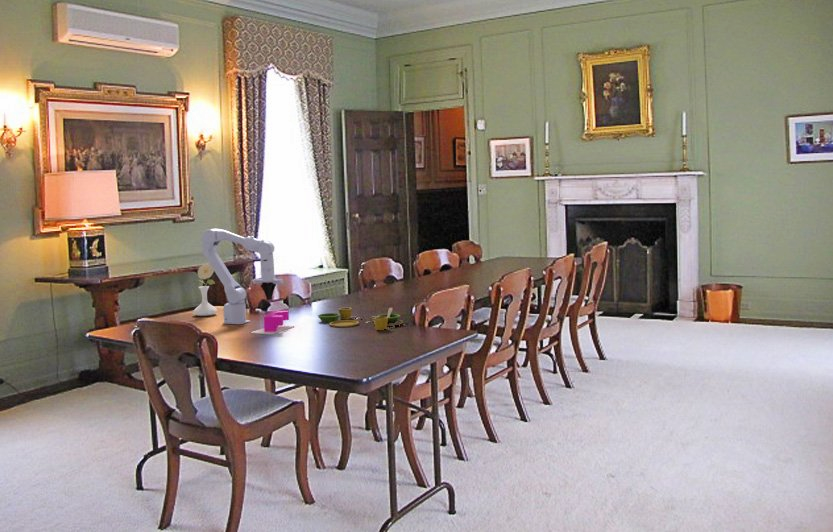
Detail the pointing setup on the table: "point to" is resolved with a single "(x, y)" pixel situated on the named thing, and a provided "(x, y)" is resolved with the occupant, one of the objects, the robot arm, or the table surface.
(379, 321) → the tableware set
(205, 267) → the flower in vase
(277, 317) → the toy block
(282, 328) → the mat
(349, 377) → the table surface
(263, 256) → the robot arm
